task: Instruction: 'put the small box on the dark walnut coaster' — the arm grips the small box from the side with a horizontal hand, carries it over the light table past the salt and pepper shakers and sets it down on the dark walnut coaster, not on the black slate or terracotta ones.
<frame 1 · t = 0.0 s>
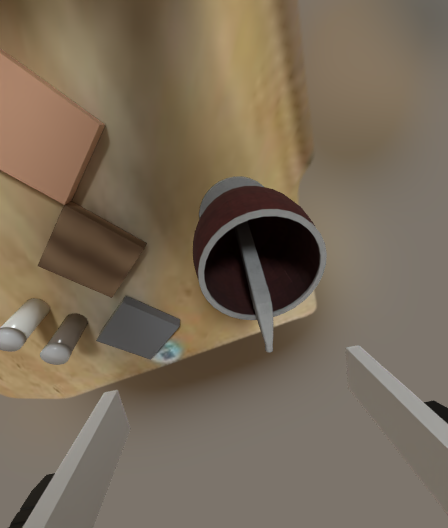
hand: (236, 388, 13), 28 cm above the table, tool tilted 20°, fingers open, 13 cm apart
mate gourd: (236, 220, 37), on the table
walnut coaster: (96, 251, 37), on the table
pepper shaker: (76, 321, 44), on the table
slate coaster: (140, 326, 47), on the table
terracotta coaster: (38, 134, 28), on the table
salt shaker: (37, 306, 42), on the table
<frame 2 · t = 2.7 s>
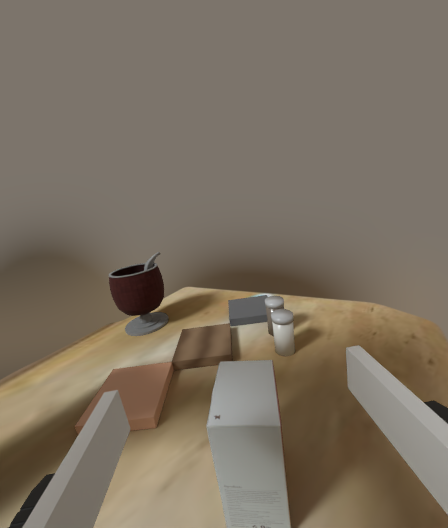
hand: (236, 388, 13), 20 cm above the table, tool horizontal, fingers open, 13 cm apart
mate gourd: (150, 323, 66), on the table
walnut coaster: (205, 348, 50), on the table
pepper shaker: (277, 331, 53), on the table
small box: (258, 483, 25), on the table
slate coaster: (250, 312, 64), on the table
terracotta coaster: (133, 398, 39), on the table
salt shaker: (285, 349, 46), on the table
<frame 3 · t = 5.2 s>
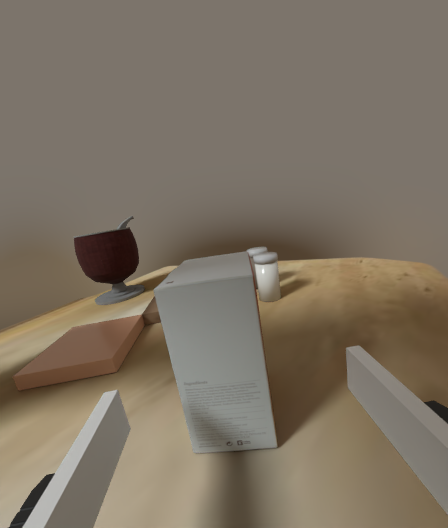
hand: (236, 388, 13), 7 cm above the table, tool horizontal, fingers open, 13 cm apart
mate gourd: (124, 294, 60), on the table
walnut coaster: (182, 305, 45), on the table
pepper shaker: (261, 285, 48), on the table
small box: (236, 407, 20), on the table
terracotta coaster: (93, 351, 33), on the table
salt shaker: (270, 297, 41), on the table
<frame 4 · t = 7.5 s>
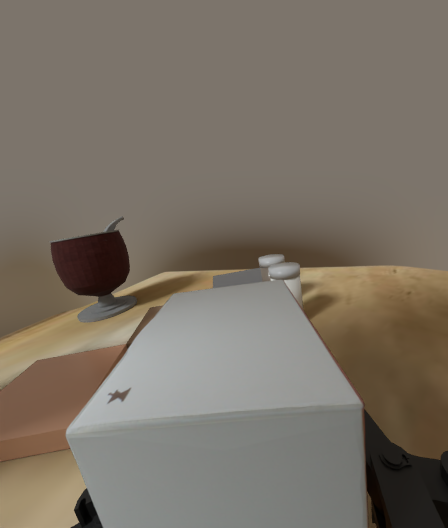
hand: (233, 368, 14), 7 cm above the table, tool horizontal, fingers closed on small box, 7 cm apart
mate gourd: (113, 308, 52), on the table
walnut coaster: (179, 327, 36), on the table
pepper shaker: (276, 301, 39), on the table
slate coaster: (240, 287, 50), on the table
terracotta coaster: (56, 401, 24), on the table
salt shaker: (290, 320, 33), on the table
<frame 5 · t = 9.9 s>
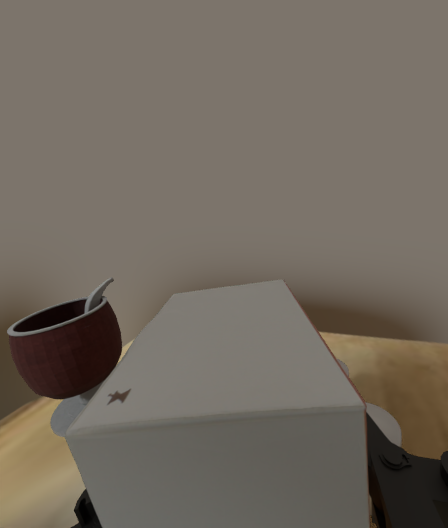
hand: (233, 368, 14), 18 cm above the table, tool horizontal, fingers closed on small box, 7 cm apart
mate gourd: (100, 399, 39), on the table
salt shaker: (373, 491, 21), on the table
when the fingers open (10 cm above the table, at t = 12.5 s): small box drops 1 cm, resting on walnut coaster.
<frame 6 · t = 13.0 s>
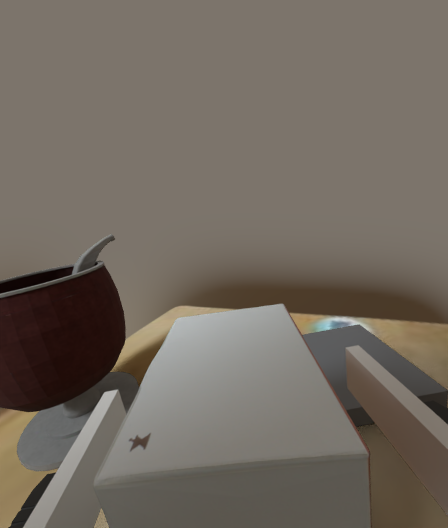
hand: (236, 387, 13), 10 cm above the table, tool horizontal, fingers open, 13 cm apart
mate gourd: (94, 409, 27), on the table
slate coaster: (342, 374, 26), on the table
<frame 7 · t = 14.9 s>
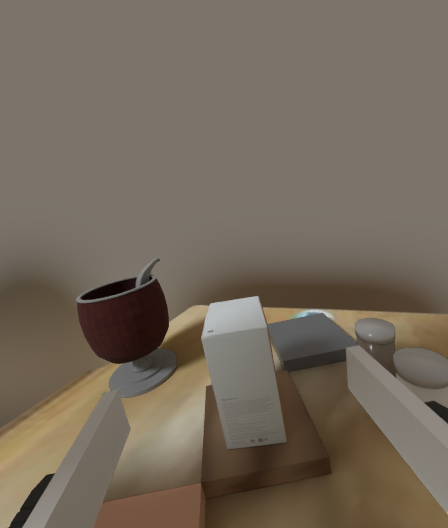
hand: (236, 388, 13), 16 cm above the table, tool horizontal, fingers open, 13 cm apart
mate gourd: (149, 369, 42), on the table
walnut coaster: (256, 427, 27), on the table
pepper shaker: (377, 381, 30), on the table
small box: (254, 414, 26), point 2 cm above the table, touching walnut coaster
slate coaster: (307, 343, 40), on the table
salt shaker: (426, 429, 23), on the table
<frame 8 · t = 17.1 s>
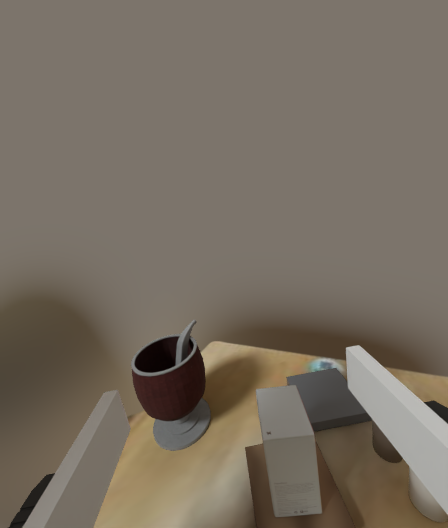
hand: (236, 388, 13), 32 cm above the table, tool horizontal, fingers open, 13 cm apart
mate gourd: (186, 418, 49), on the table
walnut coaster: (292, 491, 33), on the table
pepper shaker: (387, 449, 36), on the table
small box: (291, 481, 33), point 2 cm above the table, touching walnut coaster
slate coaster: (324, 400, 47), on the table
salt shaker: (428, 502, 30), on the table
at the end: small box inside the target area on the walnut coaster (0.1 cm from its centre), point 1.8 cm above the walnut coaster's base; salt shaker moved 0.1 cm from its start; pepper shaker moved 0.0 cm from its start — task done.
